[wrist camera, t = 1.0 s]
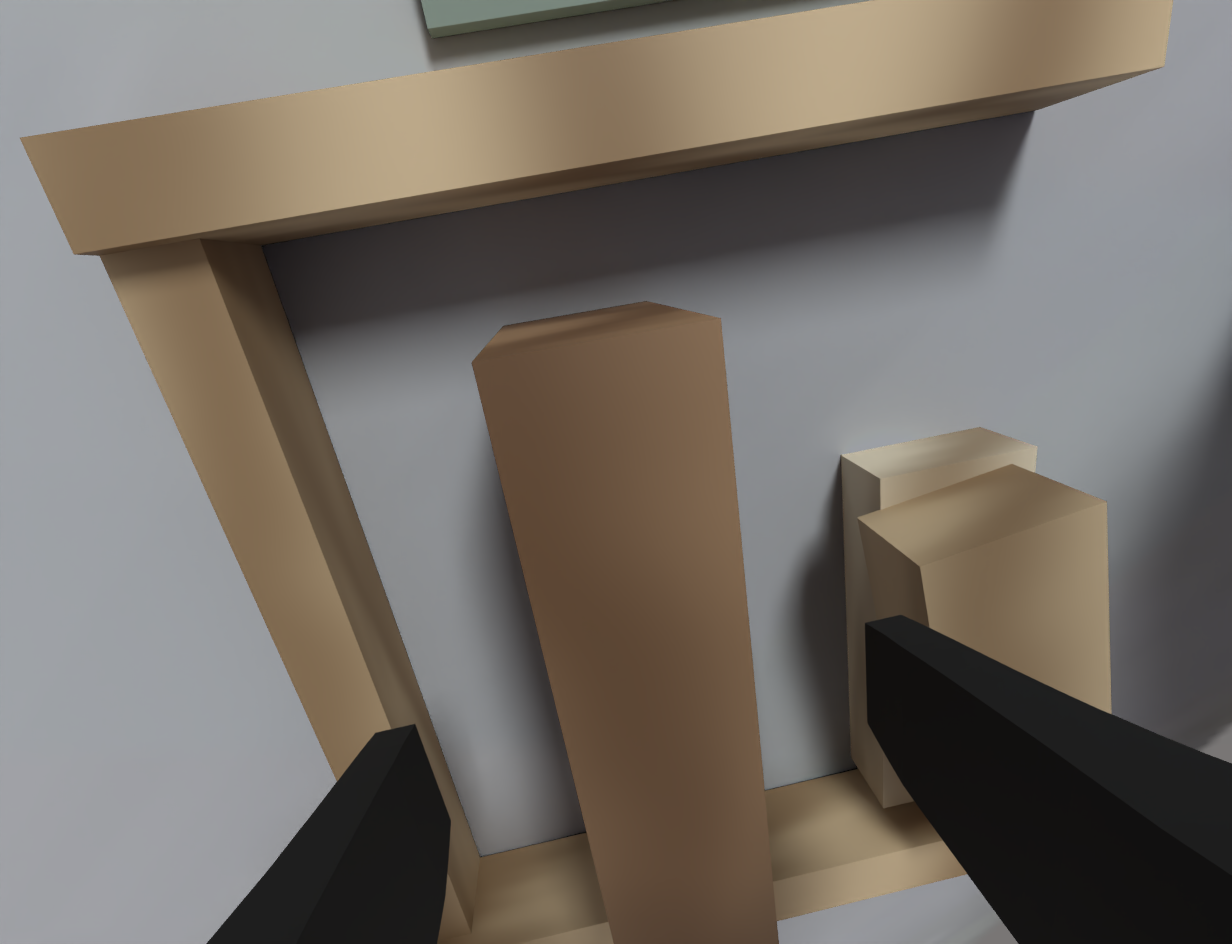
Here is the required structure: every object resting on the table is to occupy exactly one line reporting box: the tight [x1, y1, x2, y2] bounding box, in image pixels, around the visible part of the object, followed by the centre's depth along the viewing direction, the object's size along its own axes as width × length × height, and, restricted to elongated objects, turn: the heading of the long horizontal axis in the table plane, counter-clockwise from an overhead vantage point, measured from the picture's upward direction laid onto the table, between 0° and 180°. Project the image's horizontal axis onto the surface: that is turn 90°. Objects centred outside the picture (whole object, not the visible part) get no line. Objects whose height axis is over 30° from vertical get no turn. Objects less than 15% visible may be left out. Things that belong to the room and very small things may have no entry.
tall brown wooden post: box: [472, 301, 779, 944], centre depth 11 cm, size 3×12×6 cm, turn 9°
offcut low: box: [841, 427, 1037, 808], centre depth 15 cm, size 4×10×2 cm, turn 10°
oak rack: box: [20, 0, 1173, 944], centre depth 13 cm, size 17×20×2 cm
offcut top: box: [857, 464, 1111, 714], centre depth 12 cm, size 4×8×2 cm, turn 18°
